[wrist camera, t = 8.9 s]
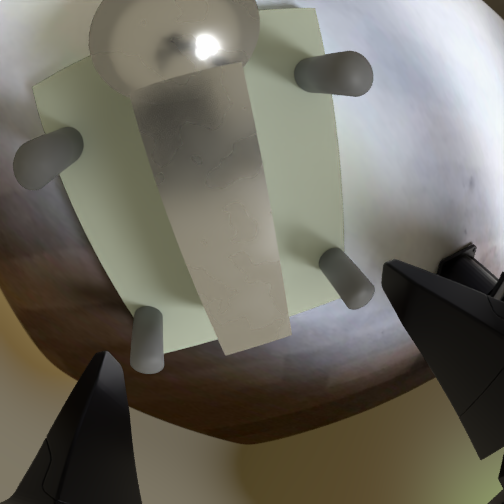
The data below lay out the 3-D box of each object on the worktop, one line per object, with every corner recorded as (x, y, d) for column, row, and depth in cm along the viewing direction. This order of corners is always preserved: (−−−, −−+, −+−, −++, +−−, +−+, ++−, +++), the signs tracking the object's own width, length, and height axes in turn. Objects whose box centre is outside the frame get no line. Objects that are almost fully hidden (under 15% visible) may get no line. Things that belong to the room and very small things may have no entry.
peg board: (307, 12, 11) (355, -10, 7) (338, 289, 22) (369, 331, 18) (40, 86, 10) (-11, 91, 6) (159, 345, 21) (161, 398, 17)
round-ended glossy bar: (225, -17, 9) (242, -50, 5) (286, 287, 19) (307, 329, 16) (103, 15, 8) (79, -9, 5) (201, 313, 19) (209, 360, 16)
